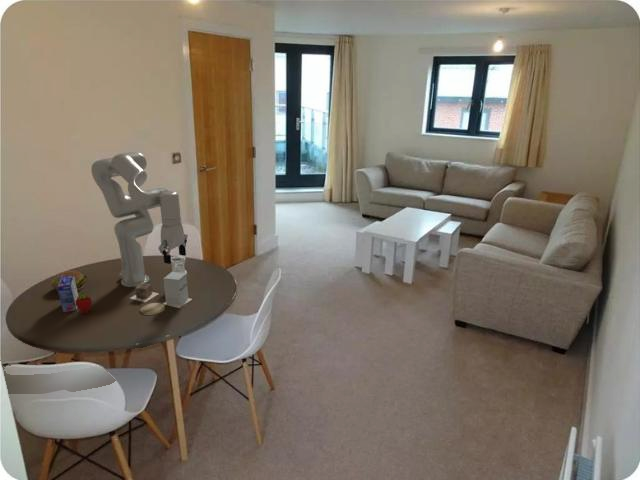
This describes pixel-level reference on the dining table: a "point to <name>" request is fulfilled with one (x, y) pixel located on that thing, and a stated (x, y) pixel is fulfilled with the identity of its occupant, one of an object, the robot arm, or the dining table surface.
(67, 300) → the ink cartridge box
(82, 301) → the strawberry
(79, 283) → the food
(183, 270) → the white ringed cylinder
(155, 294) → the code tile
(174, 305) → the code tile
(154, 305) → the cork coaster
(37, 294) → the dining table surface
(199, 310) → the dining table surface
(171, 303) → the supplement box
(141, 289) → the walnut block
